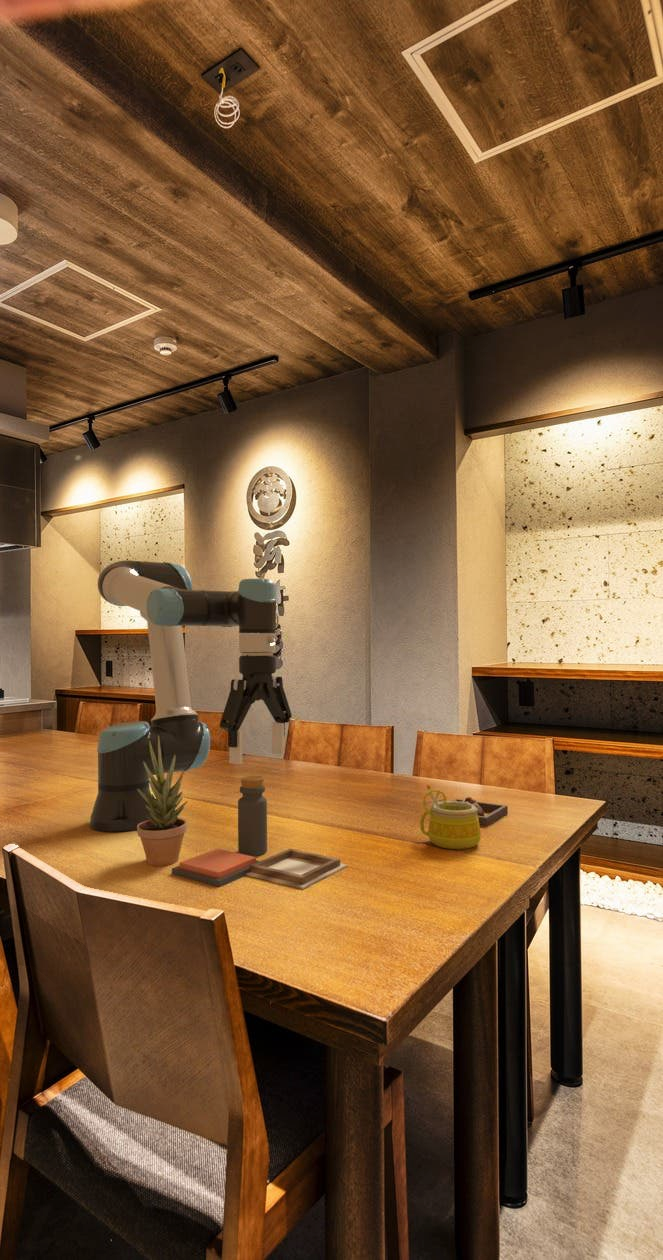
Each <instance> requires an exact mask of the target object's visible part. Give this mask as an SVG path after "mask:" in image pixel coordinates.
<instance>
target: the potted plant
mask: <svg viewBox="0 0 663 1260" xmlns="http://www.w3.org/2000/svg"><path fill="white" fill-rule="evenodd" d="M149 747H150V753H151V758H152V762H153V767H154V770H155V774H156V775H152V773H151V772H150V770H149V769H148V767H147V765H146V764H145V762H144V761H143V762H144V766H145V769H146V771H147V774H148V776H149V787H150V788H151V789H150V790H152V793H151V795H152V797H151V796H149V795H147V794H146V793H145V792H143V793H144V794H143V793H142V792H141V791H140V790H139V789H138V792H139V793H140V795H141V796H142V797H143V798H144V800H145V801H146V802H147V803H148V804H149V805H150V807H148V806H147V805H146V808H147V809H148V810H149V811H150V814H151V816H152V818H153V819H152V818H151V817H149V816H148V818H149V820H148V821H145V822H142V823H140V824H138V825H137V829H136V830H137V831H136V832H137V836H138V837H140V841H141V844H142V848H143V851H144V854H145V858H146V862H147V864H148V865H150V866H152V867H153V866H154V867H162V866H168V865H173V864H175V863H177V862H178V861H179V857H180V853H181V849H182V844H183V840H184V838H185V837H184V836H185V833H186V832H187V831H188V822H187V820H186V819H184V818H182V817H181V818H180V817H178V816H179V815H181V812H182V811H183V810H184V809H185V807H186V804H187V803H188V801H185V802H184V803H183V804H181V806H179V807H178V805H179V804H180V803H181V802H182V801H183V797H182V795H183V791H181V792H180V793H179V791H180V789H181V785H182V784H181V782H182V779H183V777H184V774H185V771H184V770H183V771H181V774H180V776H179V778H178V779H177V781H176V783H175V784H174V785H172V782H173V774H174V772H173V771H174V765H175V755H174V758H173V760H172V763H171V766H170V769H169V771H168V772H167V773H166V777H165V773H164V771H163V764H162V758H161V749H160V740H159V735H158V763H159V768H158V764H157V761H156V758H155V755H154V752H153V749H152V746H151V743H150V741H149ZM155 777H156V778H155ZM149 800H150V801H151V802H152V803H153V804H152V803H151V802H150V801H149ZM177 807H178V808H177Z"/></svg>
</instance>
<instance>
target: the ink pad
mask: <svg viewBox="0 0 663 1260" xmlns="http://www.w3.org/2000/svg"><path fill="white" fill-rule="evenodd" d="M259 861H260V860H257V856H248V855H244V854H240V853H239V852H236V851H235V852H234V851H232V850H231V851H230V850H225V849H221V848H215V849H213V850H210V851H207V852H204V853H202V854H199V855H196V856H194V857H191V858H188V859H185V860H182V861H180V862H179V865H178V866H177V865H176V866H174V867H172V868H171V874H172V875H175V876H179V877H182V878H186V879H189V880H193V881H197V882H201V883H204V884H209V885H211V886H215V887H220V888H221V887H223V886H224V885H228V884H230V883H231V882H234V881H235V880H239V879H241V878H243V877H244V876H245V877H246V876H247V875H246V873H249V872H250V865H252V864H254V863H257V862H259Z"/></svg>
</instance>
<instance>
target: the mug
mask: <svg viewBox="0 0 663 1260" xmlns="http://www.w3.org/2000/svg"><path fill="white" fill-rule="evenodd" d="M426 789H427V790H428V791H427V792H426V794H425V795H424V797H423V799H422V805H423V808H424V809H425V811H423V812H422V814H421V816H420V817H421V818H420V821H419V827H420V832H421V833H422V834H424V835H425V836H428V839H429V841H430V842H431V843H432V844H433V845H435V846H437V847H440V848H443V849H448V850H449V849H450V850H465V849H470V848H473V847H476V846H477V845H478V844H479V843H480V840H481V826H480V825H479V819H478V815H477V811H478V809H477V808H476V807H475V806H474V805H472V804H470V803H466V802H458V801H452V800H447V797H446V795H445V794H444V792H443V791H442V790H440V789H431V785H429V784H426ZM433 792H436V795H435V794H434V793H433ZM440 794H441V795H442V796H443V799H439V800H438V798H439V796H440ZM428 796H429V797H430V799H432V801H426V799H427V797H428ZM428 804H432V805H431V806H430V809H428V808H427V807H426V805H428ZM427 815H429V822H428V830H426V829H425V824H424V822H425V818H426V816H427Z"/></svg>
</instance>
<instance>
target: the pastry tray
mask: <svg viewBox="0 0 663 1260" xmlns="http://www.w3.org/2000/svg"><path fill="white" fill-rule="evenodd" d="M463 800H464V799H460V798H455V799H453V800H451V801H458V802H462V801H463ZM476 802H477V804H478V805H479V806H480V807H481V808H482V809H483V812H484V813H485V812H487V813H489V814H487V815H484V816H485V817H484V816H478V819H479V825H480V827H481V826H482V827H486V828H487V827H489V826H491V825H492V824H494V823H495V822H497V821H499V820H500V819H502V818H503V817H505V816H507V815H508V814H509V812H508V811H509V810H508V809H509V808H508V805H506V804H498V803H492V802H491V803H490V802H483V801H477V800H476Z"/></svg>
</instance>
